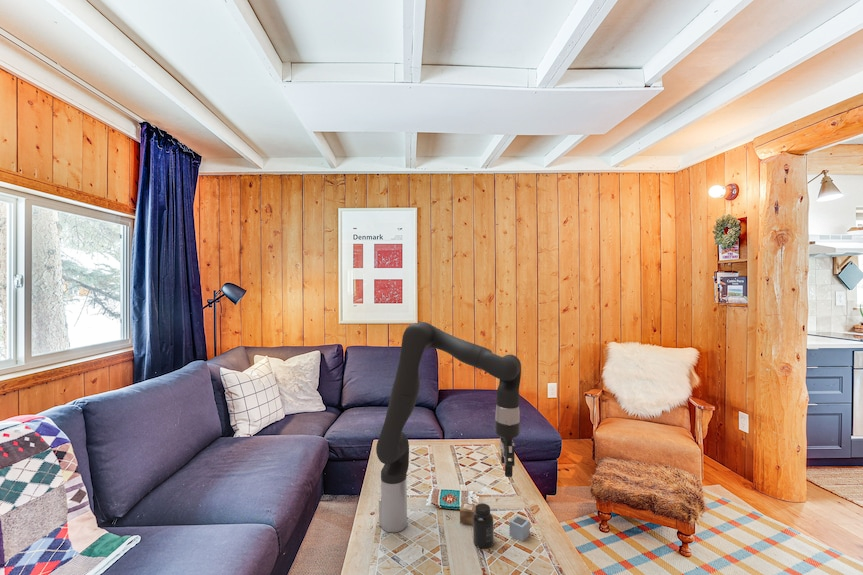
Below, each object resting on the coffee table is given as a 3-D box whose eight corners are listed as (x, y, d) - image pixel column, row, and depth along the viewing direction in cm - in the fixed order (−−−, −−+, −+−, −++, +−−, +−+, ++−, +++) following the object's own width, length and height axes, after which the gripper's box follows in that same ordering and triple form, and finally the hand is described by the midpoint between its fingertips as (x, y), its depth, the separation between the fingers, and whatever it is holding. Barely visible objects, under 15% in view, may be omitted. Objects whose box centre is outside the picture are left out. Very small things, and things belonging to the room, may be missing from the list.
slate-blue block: (509, 535, 137) (509, 520, 137) (516, 528, 141) (516, 514, 141) (522, 542, 134) (522, 526, 134) (529, 534, 137) (529, 519, 137)
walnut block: (460, 523, 144) (459, 509, 144) (462, 515, 149) (462, 501, 149) (473, 525, 143) (473, 511, 143) (476, 517, 148) (476, 503, 147)
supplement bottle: (491, 535, 137) (491, 501, 137) (495, 548, 130) (495, 512, 130) (471, 536, 137) (471, 501, 137) (474, 549, 130) (474, 513, 130)
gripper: (492, 410, 133) (492, 458, 133) (498, 427, 119) (497, 480, 119) (515, 411, 133) (514, 459, 133) (523, 428, 118) (522, 481, 119)
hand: (506, 469), depth 126 cm, fingers open, 8 cm apart
